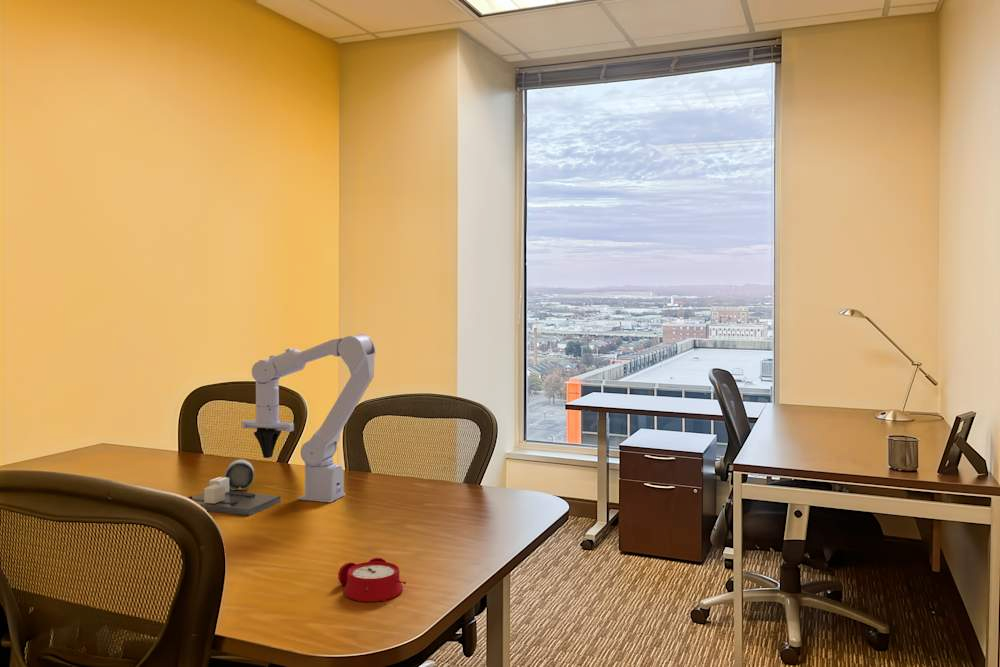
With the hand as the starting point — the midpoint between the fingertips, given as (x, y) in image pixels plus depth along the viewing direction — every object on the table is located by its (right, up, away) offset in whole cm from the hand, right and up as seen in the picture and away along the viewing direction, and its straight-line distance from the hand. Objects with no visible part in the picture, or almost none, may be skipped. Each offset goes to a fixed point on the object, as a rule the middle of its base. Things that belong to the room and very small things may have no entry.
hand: (267, 457), depth 205 cm
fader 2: (-9, -9, -12) cm, 18 cm away
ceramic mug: (-11, -10, +7) cm, 16 cm away
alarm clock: (+37, -14, -63) cm, 74 cm away
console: (-6, -10, -9) cm, 15 cm away
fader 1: (-11, -8, -4) cm, 15 cm away
